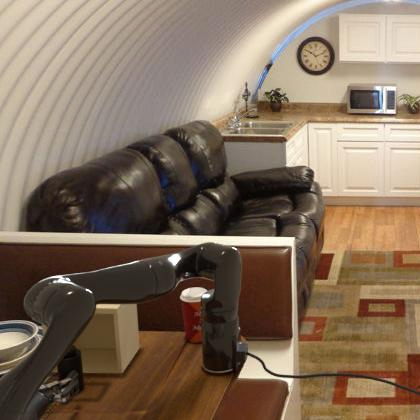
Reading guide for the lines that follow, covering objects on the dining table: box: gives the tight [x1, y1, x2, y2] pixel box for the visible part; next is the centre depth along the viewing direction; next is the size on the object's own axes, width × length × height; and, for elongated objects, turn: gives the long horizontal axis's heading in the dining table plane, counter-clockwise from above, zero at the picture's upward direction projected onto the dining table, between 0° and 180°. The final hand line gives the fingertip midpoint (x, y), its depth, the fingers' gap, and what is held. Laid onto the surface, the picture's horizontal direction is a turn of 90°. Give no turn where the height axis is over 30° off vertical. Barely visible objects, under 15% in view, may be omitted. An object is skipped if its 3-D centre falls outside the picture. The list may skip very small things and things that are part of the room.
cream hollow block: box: [41, 304, 141, 374], centre depth 161 cm, size 18×13×19 cm
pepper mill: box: [57, 345, 85, 393], centre depth 148 cm, size 5×5×11 cm
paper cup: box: [179, 286, 208, 344], centre depth 177 cm, size 8×8×14 cm
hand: (55, 373), depth 142 cm, fingers open, 8 cm apart
